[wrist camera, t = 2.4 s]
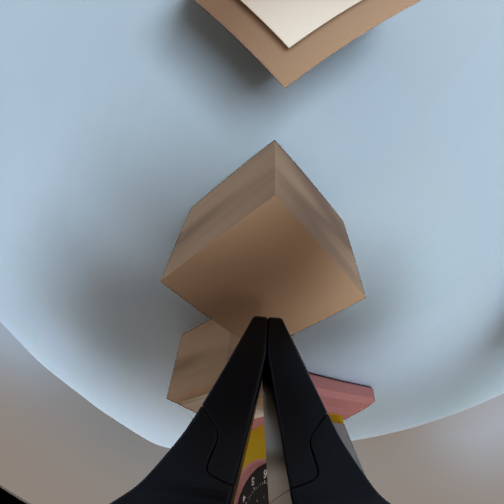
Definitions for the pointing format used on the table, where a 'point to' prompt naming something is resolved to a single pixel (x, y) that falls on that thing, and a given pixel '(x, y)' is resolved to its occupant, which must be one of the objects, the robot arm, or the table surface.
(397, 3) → the numbered block
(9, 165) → the table surface
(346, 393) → the pink yellow upright block
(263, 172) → the plain block
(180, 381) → the numbered block
